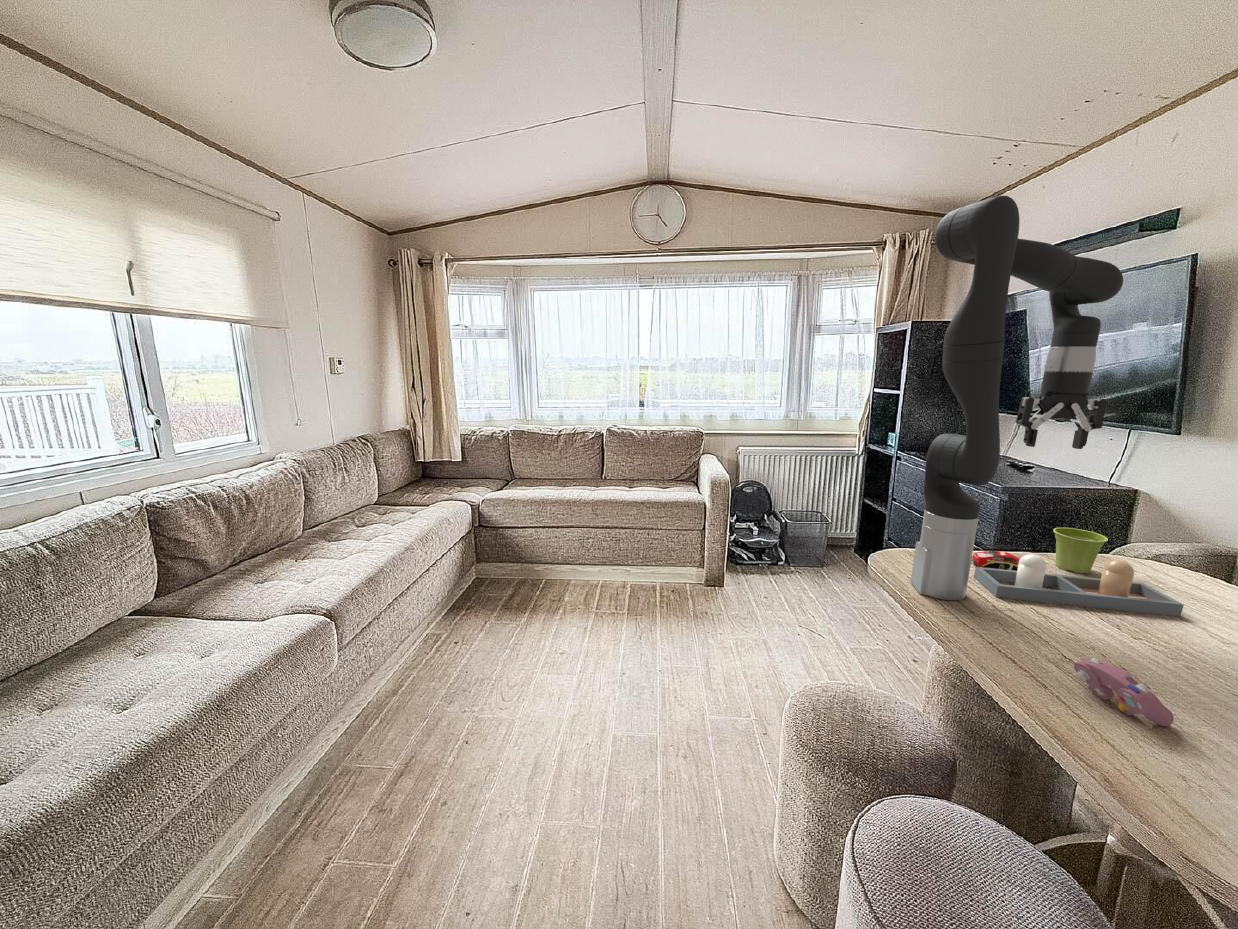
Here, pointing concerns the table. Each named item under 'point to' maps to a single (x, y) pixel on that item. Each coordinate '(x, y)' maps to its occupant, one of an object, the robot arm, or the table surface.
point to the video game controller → (1123, 691)
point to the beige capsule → (1116, 579)
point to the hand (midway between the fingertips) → (1053, 447)
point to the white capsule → (1030, 571)
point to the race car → (996, 560)
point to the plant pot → (1077, 549)
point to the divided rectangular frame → (1078, 592)
